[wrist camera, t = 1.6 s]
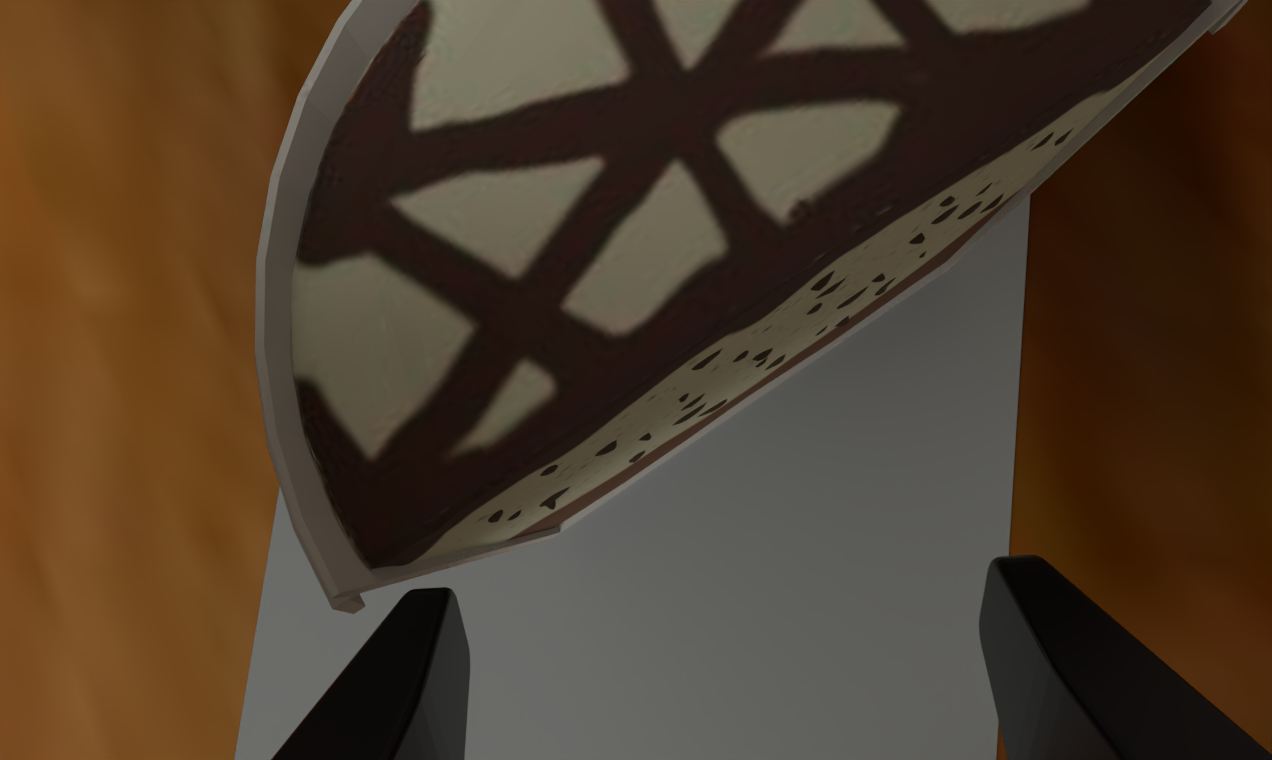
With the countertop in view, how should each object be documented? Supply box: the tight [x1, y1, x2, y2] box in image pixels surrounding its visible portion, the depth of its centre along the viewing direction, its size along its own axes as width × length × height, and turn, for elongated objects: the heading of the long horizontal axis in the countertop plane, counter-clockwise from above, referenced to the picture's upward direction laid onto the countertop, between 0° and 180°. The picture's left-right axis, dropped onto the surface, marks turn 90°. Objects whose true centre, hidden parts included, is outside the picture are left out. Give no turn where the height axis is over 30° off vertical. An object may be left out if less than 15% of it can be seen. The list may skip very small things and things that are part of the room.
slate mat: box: [234, 194, 1031, 760], centre depth 20 cm, size 15×14×1 cm
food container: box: [255, 0, 1248, 614], centre depth 15 cm, size 12×6×10 cm, turn 124°
